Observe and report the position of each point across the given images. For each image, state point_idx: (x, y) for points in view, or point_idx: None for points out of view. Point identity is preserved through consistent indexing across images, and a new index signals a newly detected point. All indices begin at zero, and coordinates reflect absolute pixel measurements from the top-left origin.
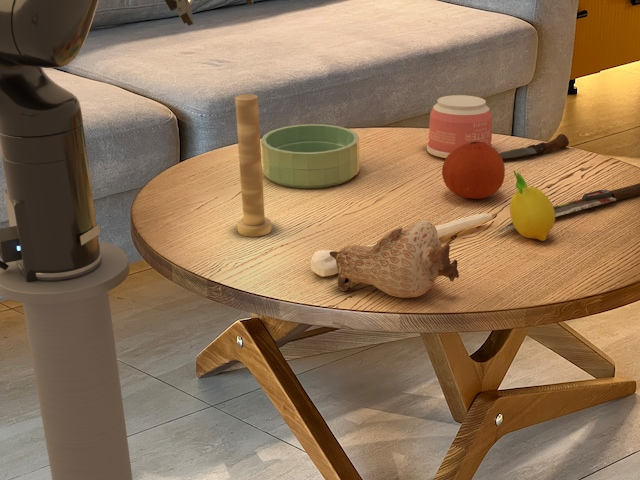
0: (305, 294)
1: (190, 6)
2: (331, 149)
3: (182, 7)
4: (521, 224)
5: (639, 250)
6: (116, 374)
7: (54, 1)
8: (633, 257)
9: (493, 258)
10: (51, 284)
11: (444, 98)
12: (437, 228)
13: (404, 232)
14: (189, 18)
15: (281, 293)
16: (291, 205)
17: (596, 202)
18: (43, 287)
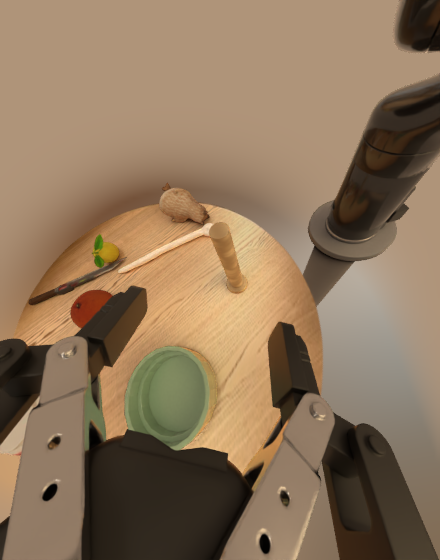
0: (223, 215)
1: (275, 397)
2: (150, 420)
3: (295, 343)
4: (116, 247)
5: (89, 242)
6: (309, 258)
7: None
8: (95, 236)
9: (140, 240)
10: None
11: (17, 440)
12: (149, 253)
13: (174, 191)
14: (276, 327)
15: (233, 216)
16: (208, 321)
17: (68, 282)
18: None
